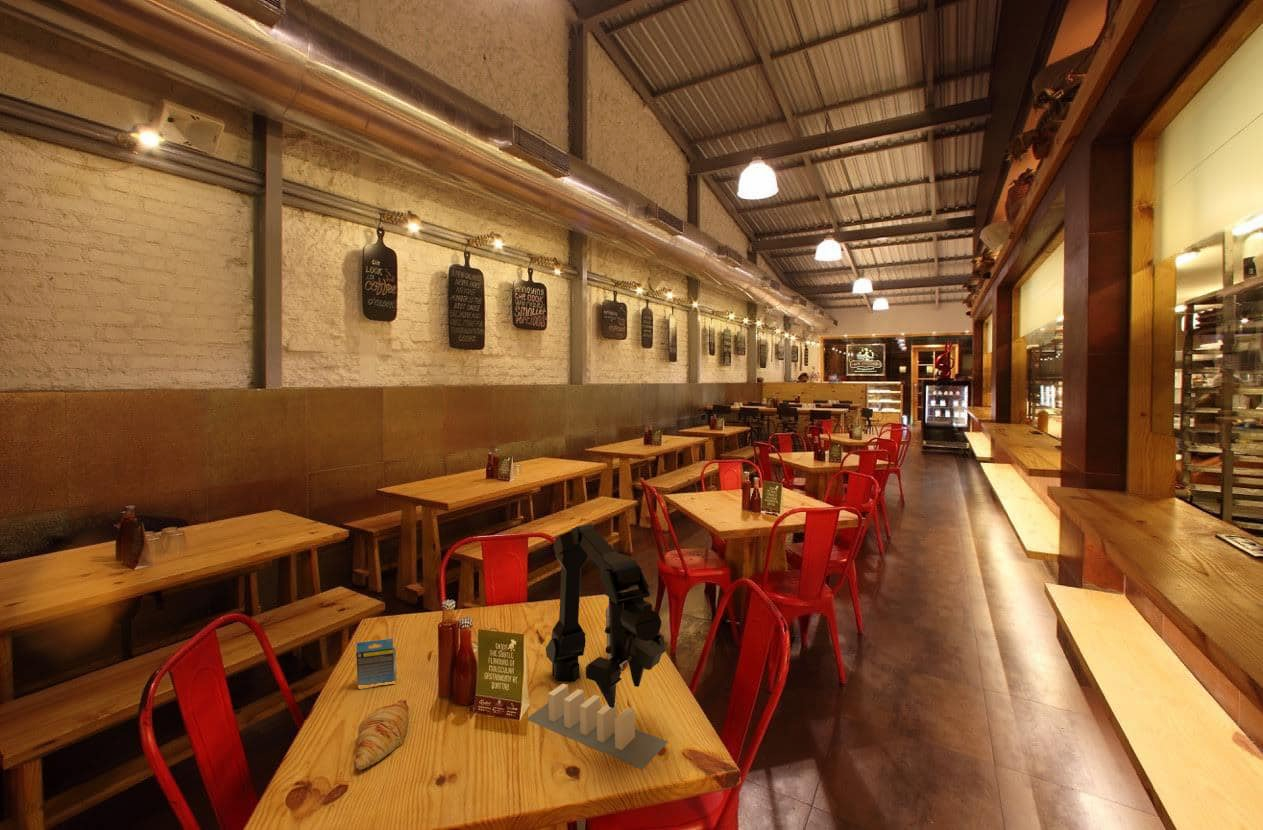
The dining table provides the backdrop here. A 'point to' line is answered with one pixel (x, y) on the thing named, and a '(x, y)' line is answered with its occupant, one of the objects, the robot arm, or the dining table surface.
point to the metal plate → (632, 753)
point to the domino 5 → (624, 728)
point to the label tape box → (376, 662)
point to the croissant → (381, 733)
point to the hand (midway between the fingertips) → (624, 696)
